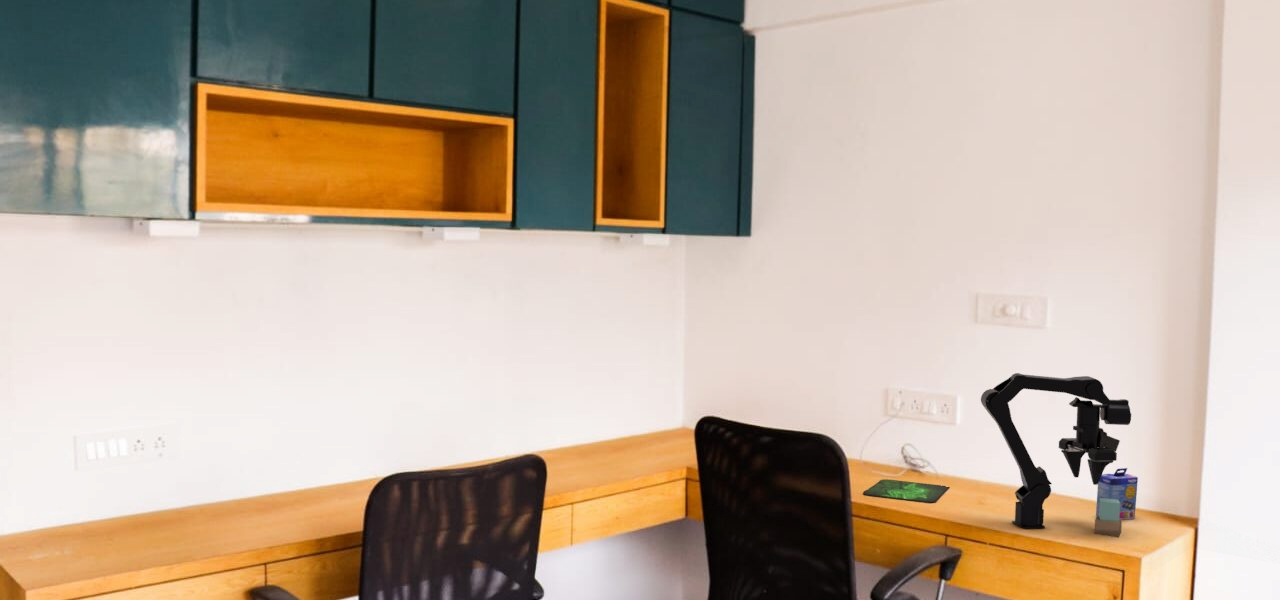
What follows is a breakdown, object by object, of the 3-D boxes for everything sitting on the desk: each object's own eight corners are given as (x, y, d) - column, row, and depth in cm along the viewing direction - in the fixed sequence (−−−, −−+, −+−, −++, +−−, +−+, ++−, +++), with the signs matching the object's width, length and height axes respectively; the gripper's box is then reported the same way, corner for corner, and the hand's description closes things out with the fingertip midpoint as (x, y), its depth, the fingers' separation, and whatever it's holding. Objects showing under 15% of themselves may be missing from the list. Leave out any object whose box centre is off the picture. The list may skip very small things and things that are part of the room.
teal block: (1119, 522, 290) (1119, 503, 289) (1100, 520, 291) (1101, 501, 291) (1117, 517, 294) (1118, 499, 294) (1099, 516, 295) (1099, 497, 295)
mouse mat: (882, 479, 356) (882, 476, 356) (951, 487, 347) (951, 484, 347) (861, 496, 332) (861, 493, 332) (935, 505, 322) (935, 501, 322)
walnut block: (1118, 538, 289) (1119, 523, 288) (1094, 534, 292) (1094, 519, 291) (1121, 533, 294) (1121, 518, 294) (1097, 529, 297) (1097, 515, 297)
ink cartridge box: (1109, 521, 305) (1111, 470, 304) (1094, 516, 310) (1096, 466, 310) (1136, 519, 309) (1139, 468, 308) (1121, 514, 314) (1124, 464, 313)
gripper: (1136, 429, 288) (1133, 488, 288) (1095, 417, 306) (1093, 473, 307) (1097, 429, 286) (1095, 488, 287) (1058, 418, 304) (1056, 473, 305)
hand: (1085, 480), depth 296 cm, fingers open, 9 cm apart
